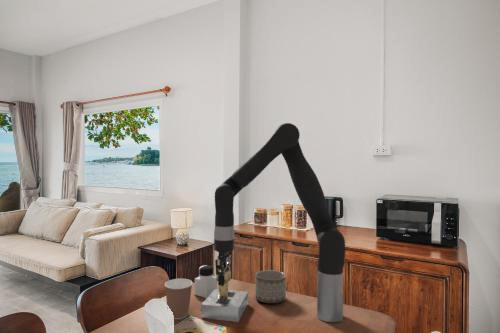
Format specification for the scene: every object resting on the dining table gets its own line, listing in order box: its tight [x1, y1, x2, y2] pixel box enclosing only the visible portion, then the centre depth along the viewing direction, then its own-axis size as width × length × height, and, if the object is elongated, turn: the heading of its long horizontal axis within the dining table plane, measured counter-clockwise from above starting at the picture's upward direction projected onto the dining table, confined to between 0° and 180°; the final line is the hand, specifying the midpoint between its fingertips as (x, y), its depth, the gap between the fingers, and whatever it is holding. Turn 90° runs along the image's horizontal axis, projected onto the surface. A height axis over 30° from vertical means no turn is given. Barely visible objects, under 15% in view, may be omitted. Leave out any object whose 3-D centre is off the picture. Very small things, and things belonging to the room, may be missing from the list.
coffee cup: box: [164, 278, 194, 320], centre depth 129 cm, size 10×10×12 cm
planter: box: [254, 269, 287, 304], centre depth 145 cm, size 13×13×10 cm
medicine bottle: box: [194, 264, 218, 299], centre depth 149 cm, size 7×7×12 cm
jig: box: [200, 288, 249, 323], centre depth 133 cm, size 14×16×5 cm
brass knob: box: [215, 269, 232, 300], centre depth 130 cm, size 5×5×10 cm
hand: (223, 282), depth 129 cm, fingers closed on brass knob, 5 cm apart
